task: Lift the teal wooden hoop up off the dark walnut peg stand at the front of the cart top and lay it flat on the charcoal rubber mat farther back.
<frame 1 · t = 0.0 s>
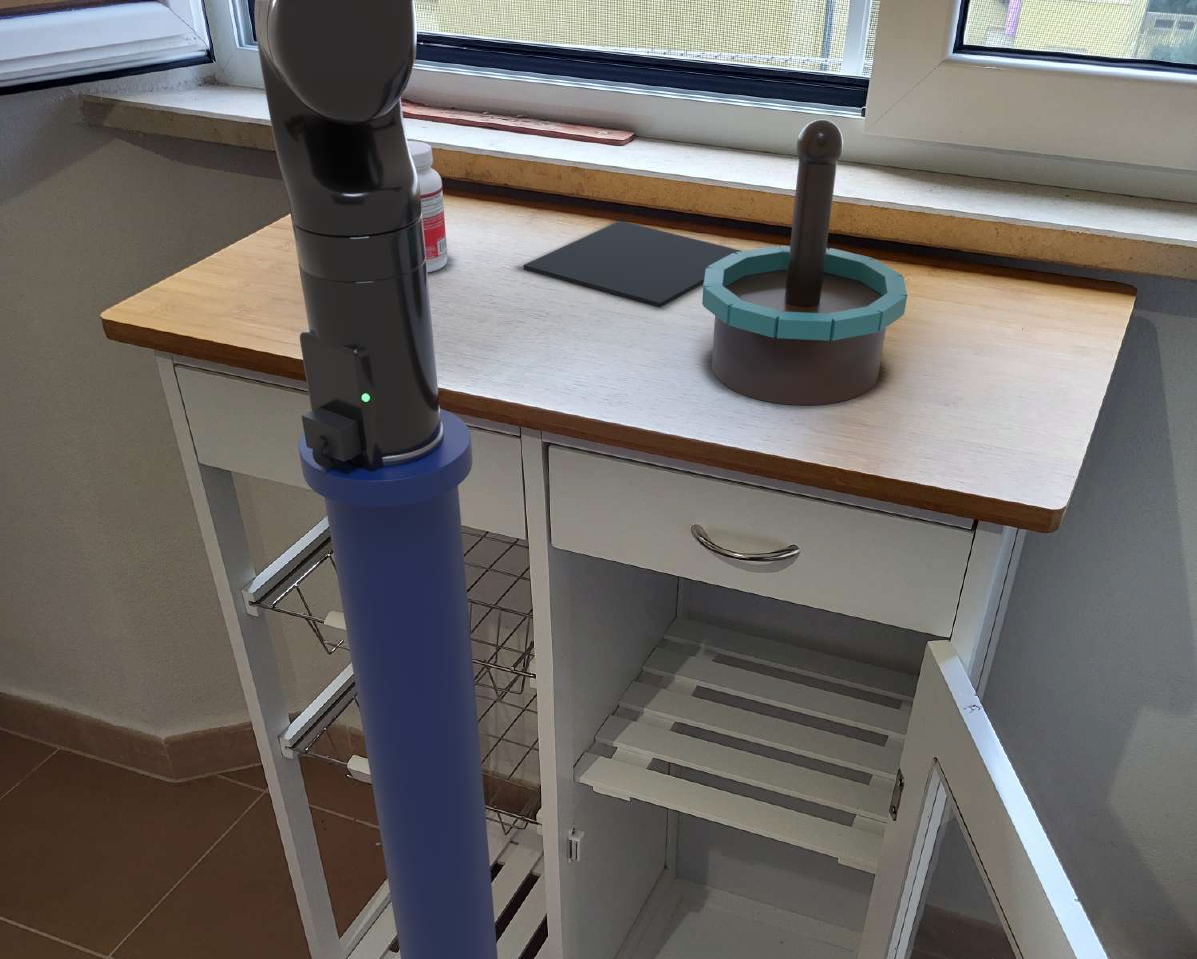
mat: (638, 262, 128), on the cabinet
peg stand: (794, 368, 109), on the cabinet
hoop: (802, 300, 104), point 6 cm above the cabinet, touching peg stand
pill bottle: (418, 266, 127), on the cabinet
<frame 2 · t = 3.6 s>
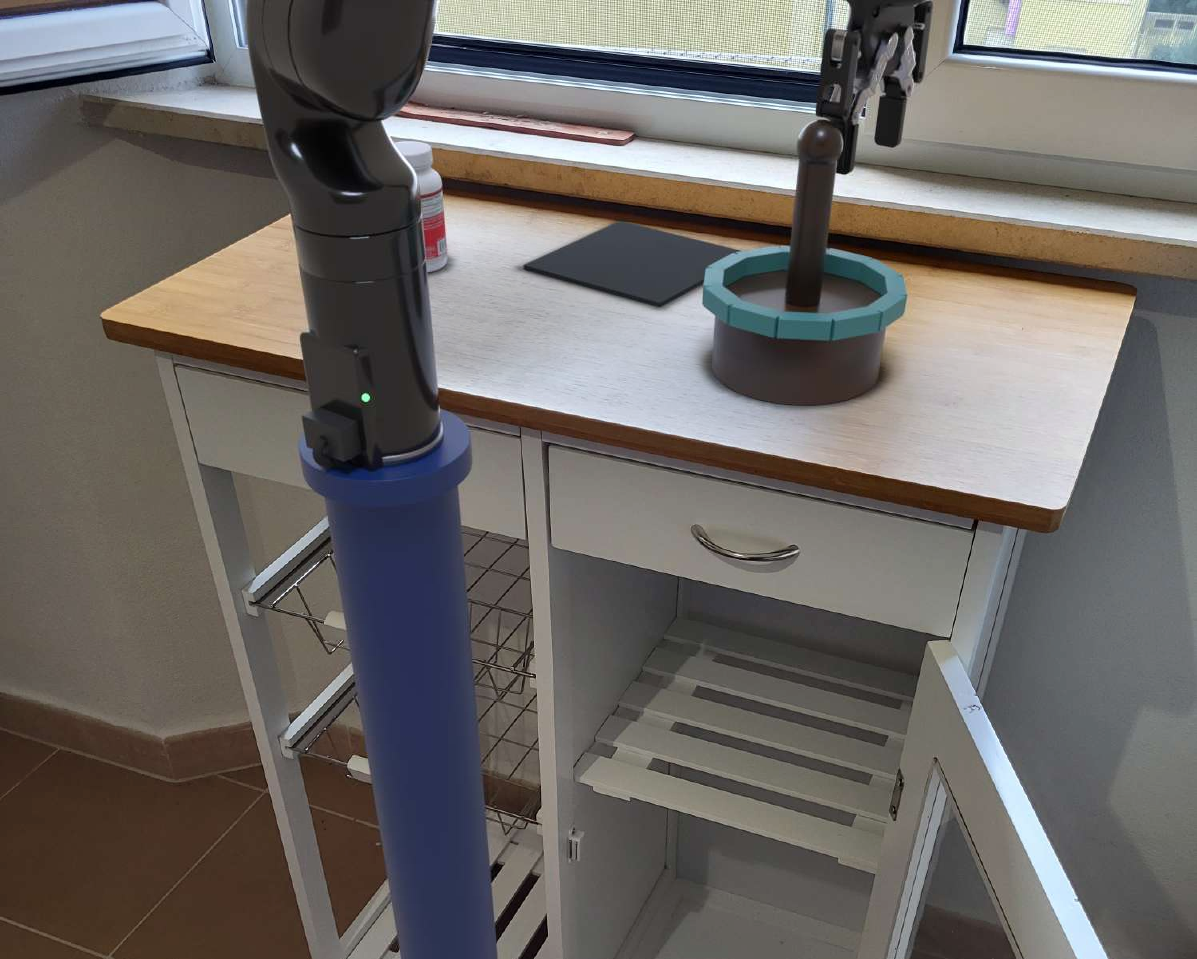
hand: (863, 158, 103), 15 cm above the cabinet, tool pointing down, fingers open, 8 cm apart
nothing on the cabinet moved.
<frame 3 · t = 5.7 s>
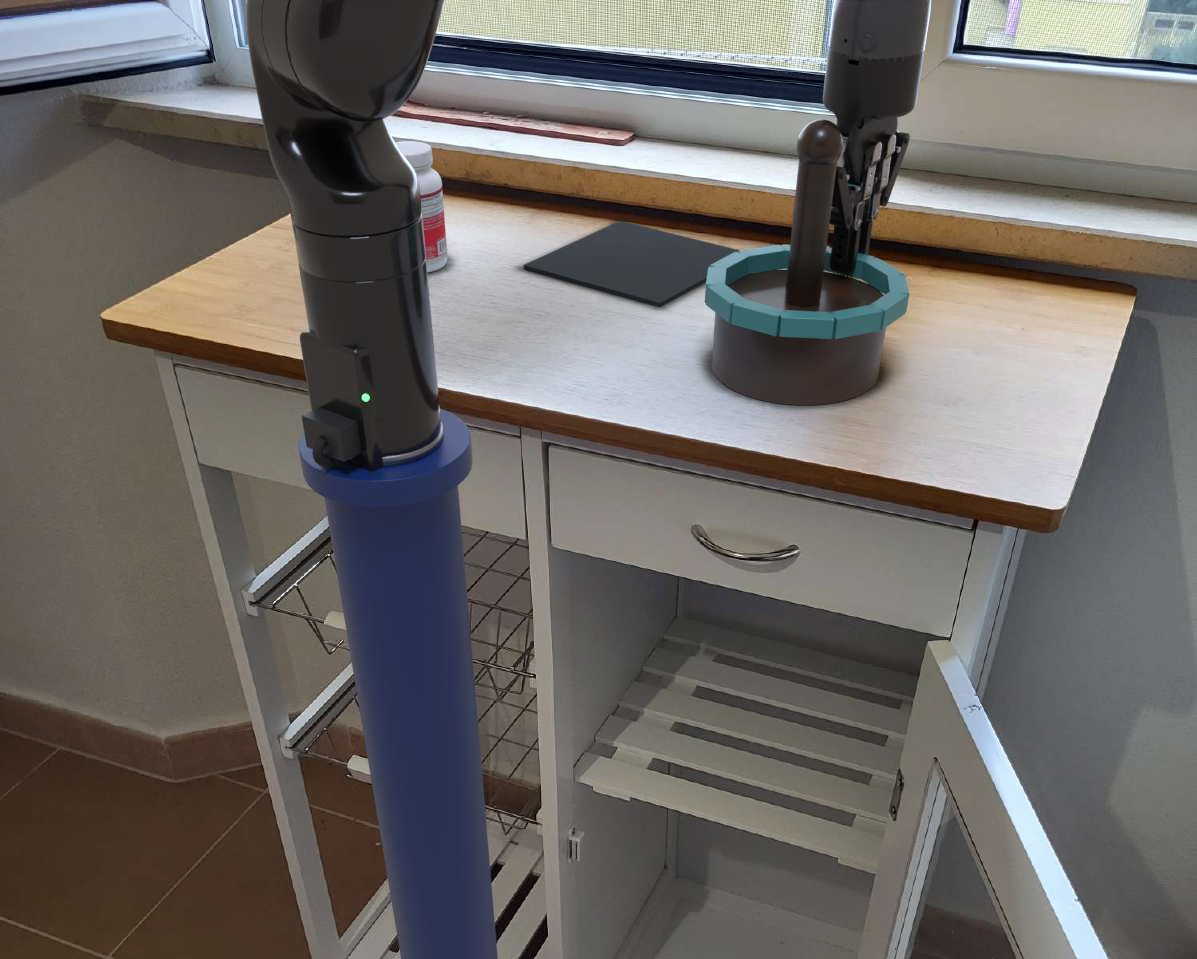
hand: (847, 266, 109), 7 cm above the cabinet, tool pointing down, fingers closed on hoop, 1 cm apart
hoop: (804, 298, 105), point 6 cm above the cabinet, touching gripper, peg stand
everything else where it was.
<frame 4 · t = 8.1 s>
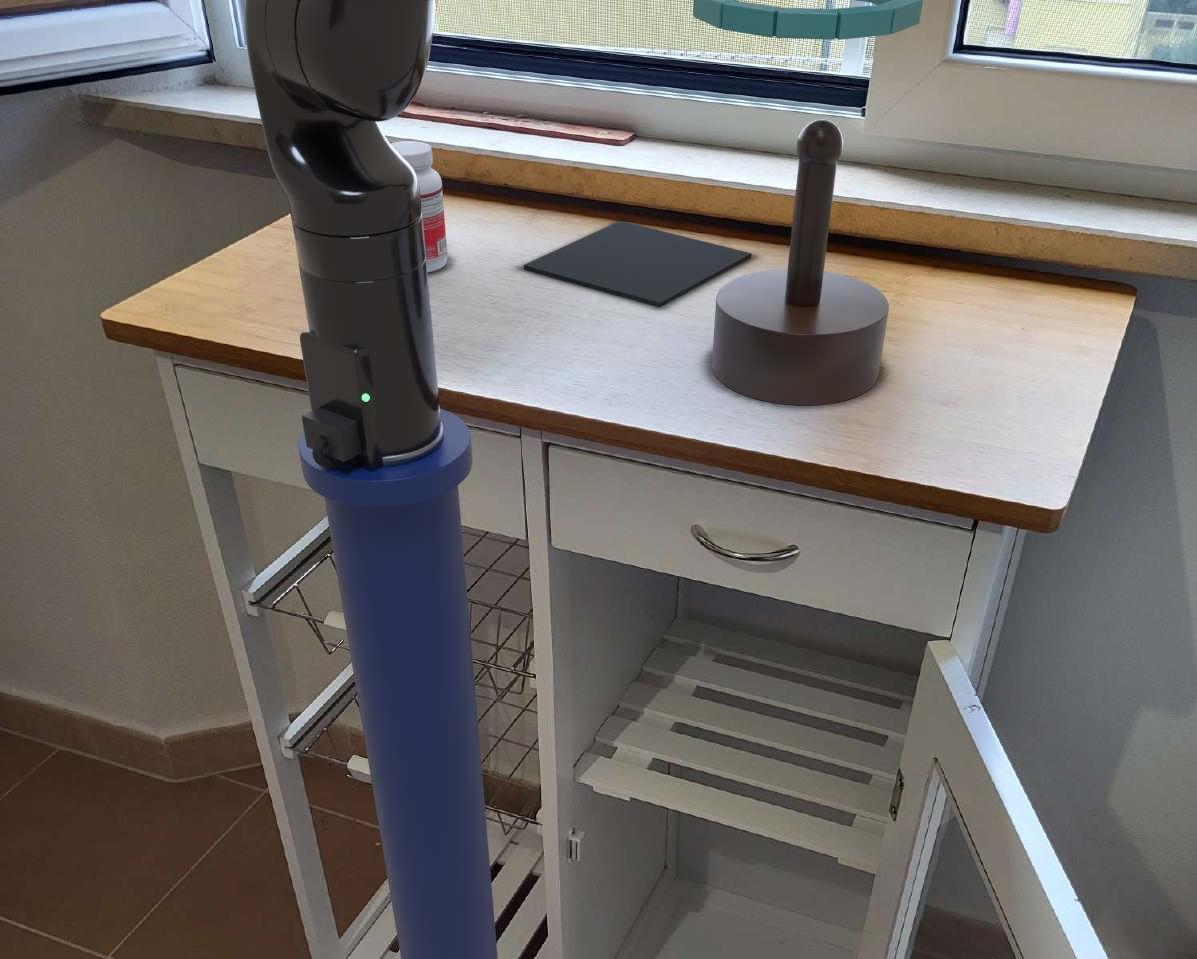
hoop: (805, 14, 93), point 26 cm above the cabinet, touching gripper
everything else where it was.
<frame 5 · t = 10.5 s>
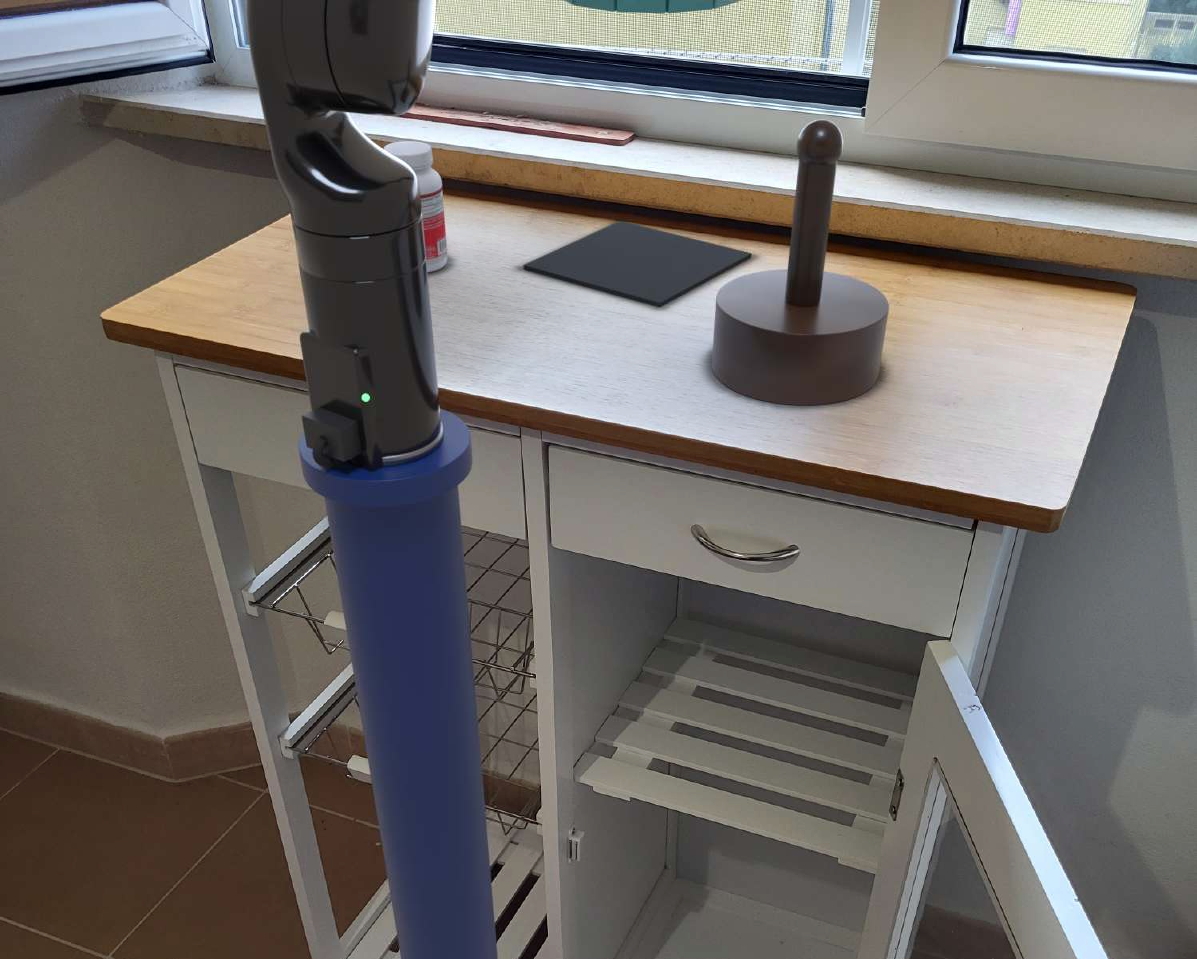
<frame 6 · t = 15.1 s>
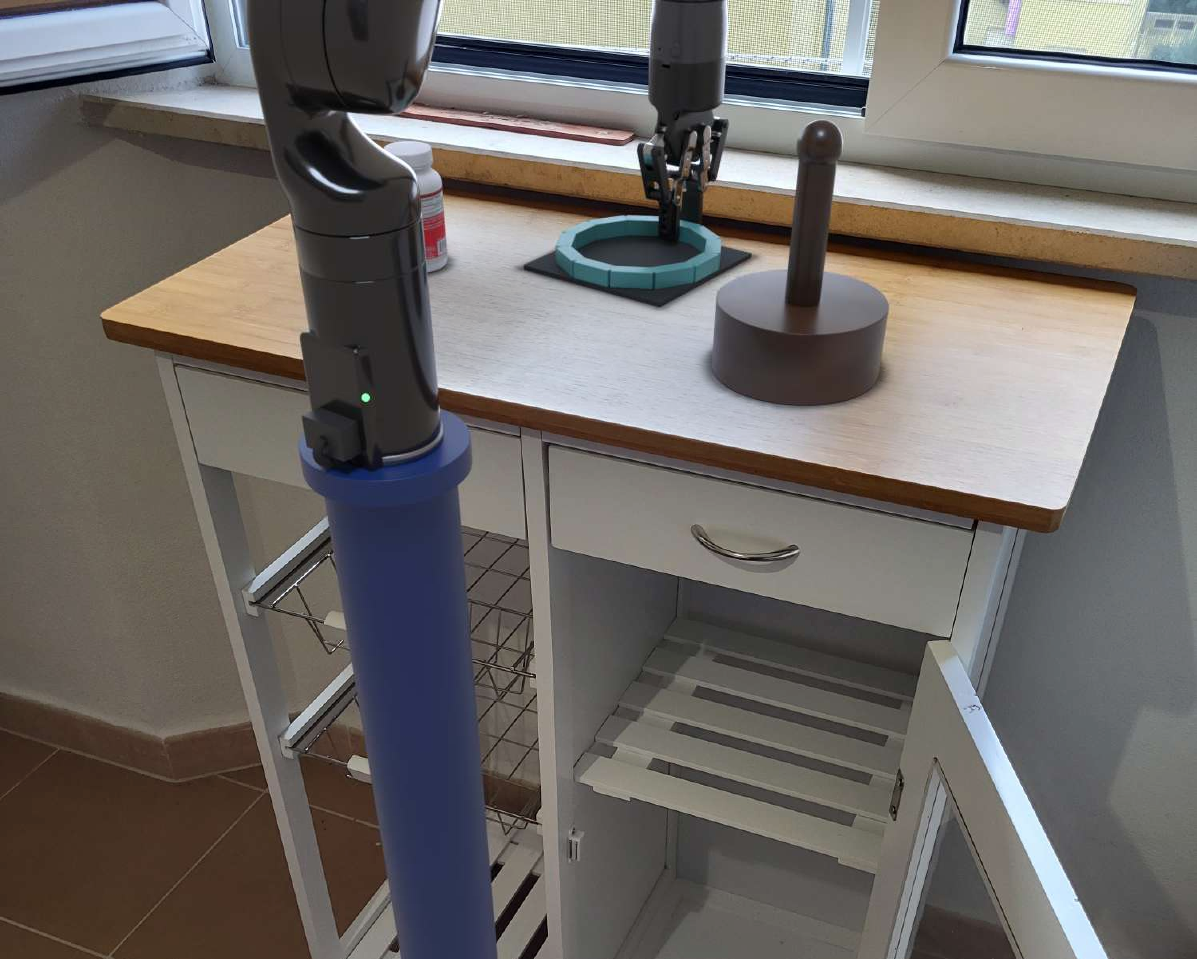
hand: (679, 233, 131), 1 cm above the cabinet, tool pointing down, fingers open, 3 cm apart
hoop: (638, 258, 127), resting on mat
everything else where it was.
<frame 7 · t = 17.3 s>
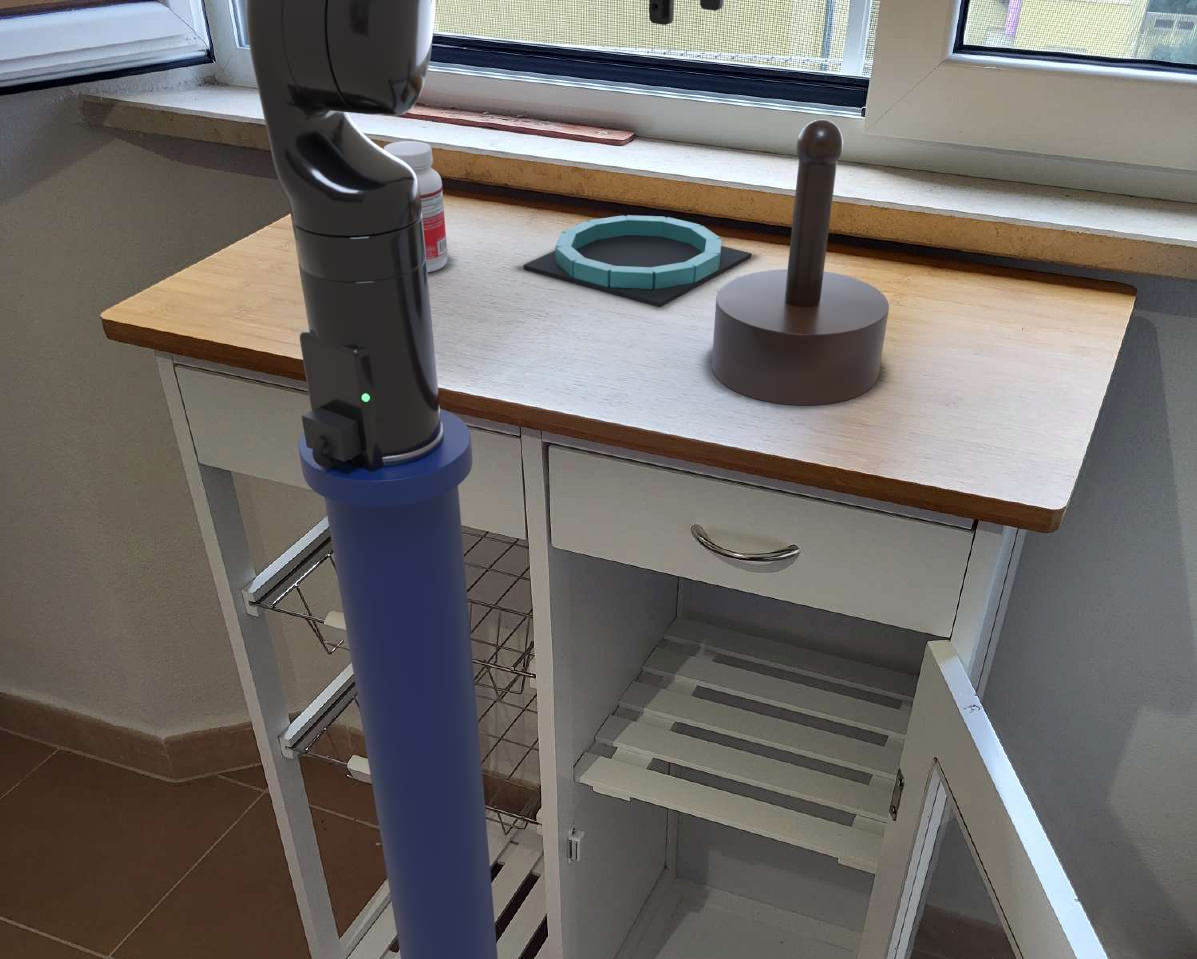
hand: (686, 16, 116), 21 cm above the cabinet, tool pointing down, fingers open, 8 cm apart
nothing on the cabinet moved.
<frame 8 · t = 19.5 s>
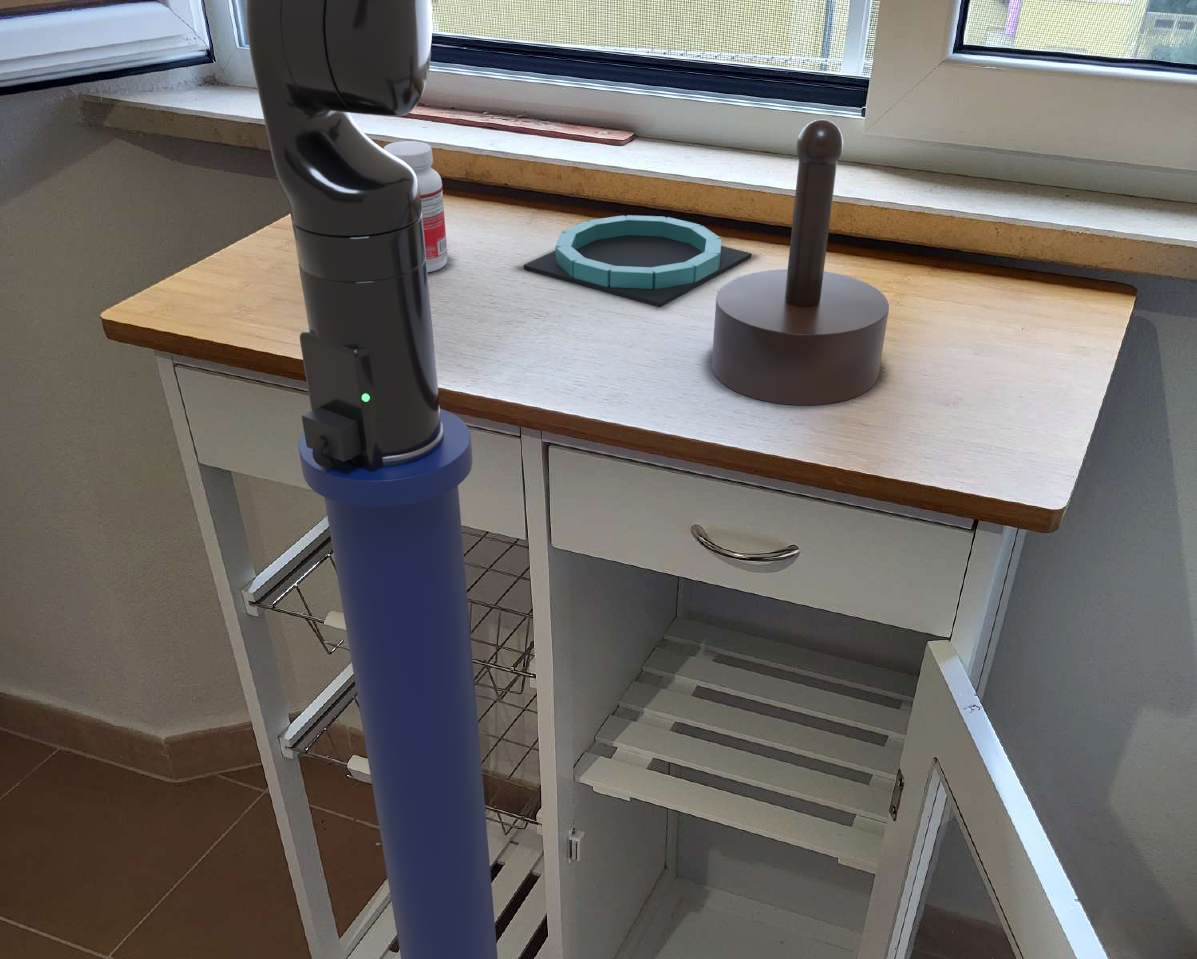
nothing on the cabinet moved.
at the end: hoop inside the target area on the mat (0.1 cm from its centre), point 0.4 cm above the mat's base; hoop touching mat; hoop tilted 0° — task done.
